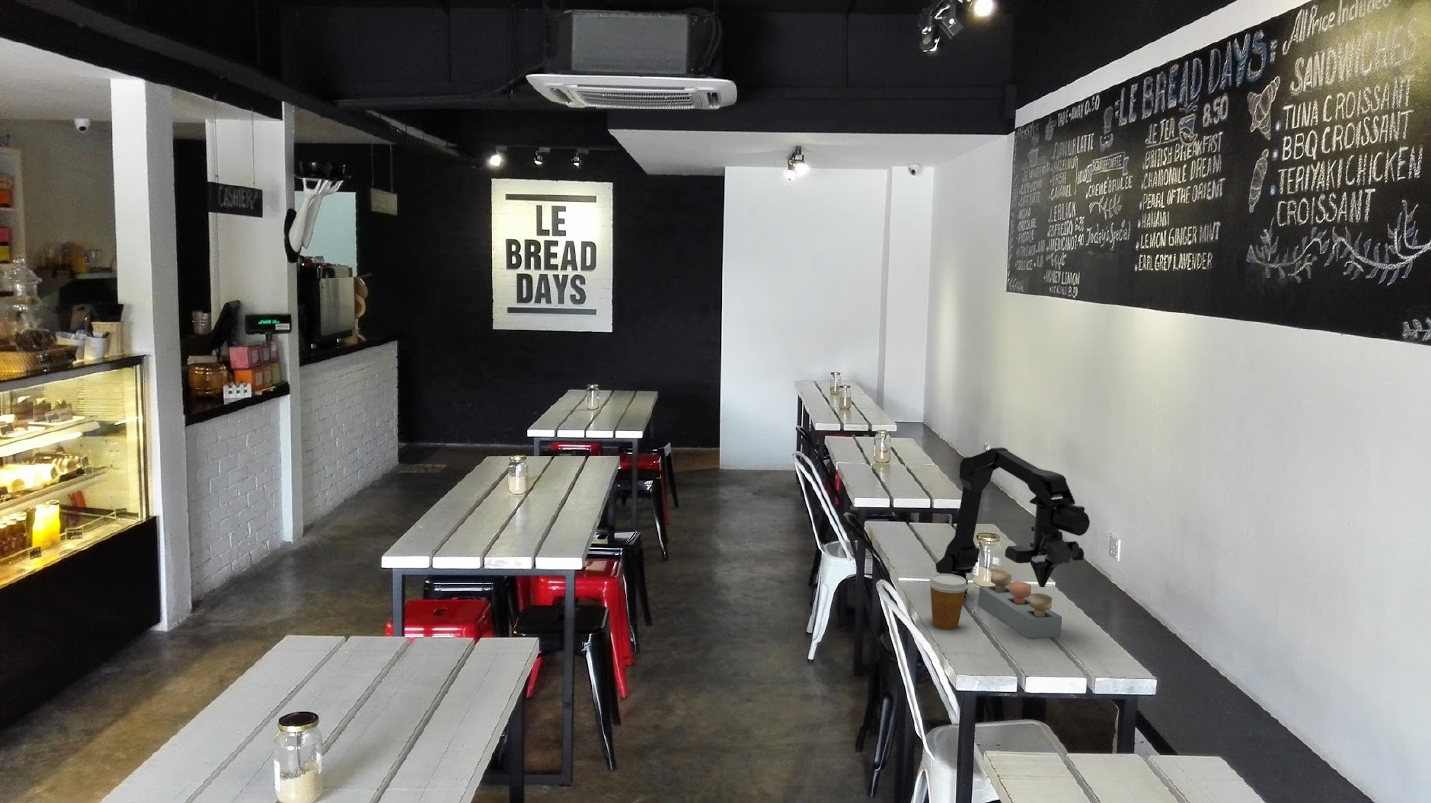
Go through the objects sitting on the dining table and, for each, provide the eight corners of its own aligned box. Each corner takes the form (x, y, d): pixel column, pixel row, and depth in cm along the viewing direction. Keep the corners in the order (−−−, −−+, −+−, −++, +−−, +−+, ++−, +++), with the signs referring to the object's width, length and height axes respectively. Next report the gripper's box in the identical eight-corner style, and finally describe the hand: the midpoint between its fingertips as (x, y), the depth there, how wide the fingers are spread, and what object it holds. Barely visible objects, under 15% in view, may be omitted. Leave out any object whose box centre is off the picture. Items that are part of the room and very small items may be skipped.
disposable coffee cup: (939, 615, 261) (942, 570, 260) (972, 626, 255) (975, 580, 253) (918, 624, 255) (921, 577, 253) (951, 635, 248) (954, 587, 246)
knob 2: (1035, 630, 248) (1037, 600, 247) (1023, 622, 253) (1025, 593, 252) (1053, 628, 249) (1056, 599, 248) (1041, 621, 254) (1044, 592, 253)
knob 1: (995, 604, 266) (998, 576, 264) (985, 597, 271) (987, 570, 269) (1013, 603, 267) (1015, 576, 266) (1002, 596, 272) (1005, 569, 271)
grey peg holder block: (1028, 638, 248) (1029, 619, 247) (978, 604, 271) (979, 586, 270) (1060, 636, 250) (1062, 616, 249) (1008, 603, 273) (1009, 585, 272)
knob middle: (1014, 616, 257) (1017, 588, 256) (1003, 609, 262) (1006, 581, 261) (1032, 615, 258) (1035, 587, 257) (1021, 608, 263) (1024, 580, 262)
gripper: (1031, 535, 237) (1026, 599, 240) (1100, 532, 242) (1094, 595, 245) (1006, 523, 248) (1001, 584, 250) (1073, 520, 253) (1067, 580, 255)
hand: (1041, 586), depth 250 cm, fingers closed
